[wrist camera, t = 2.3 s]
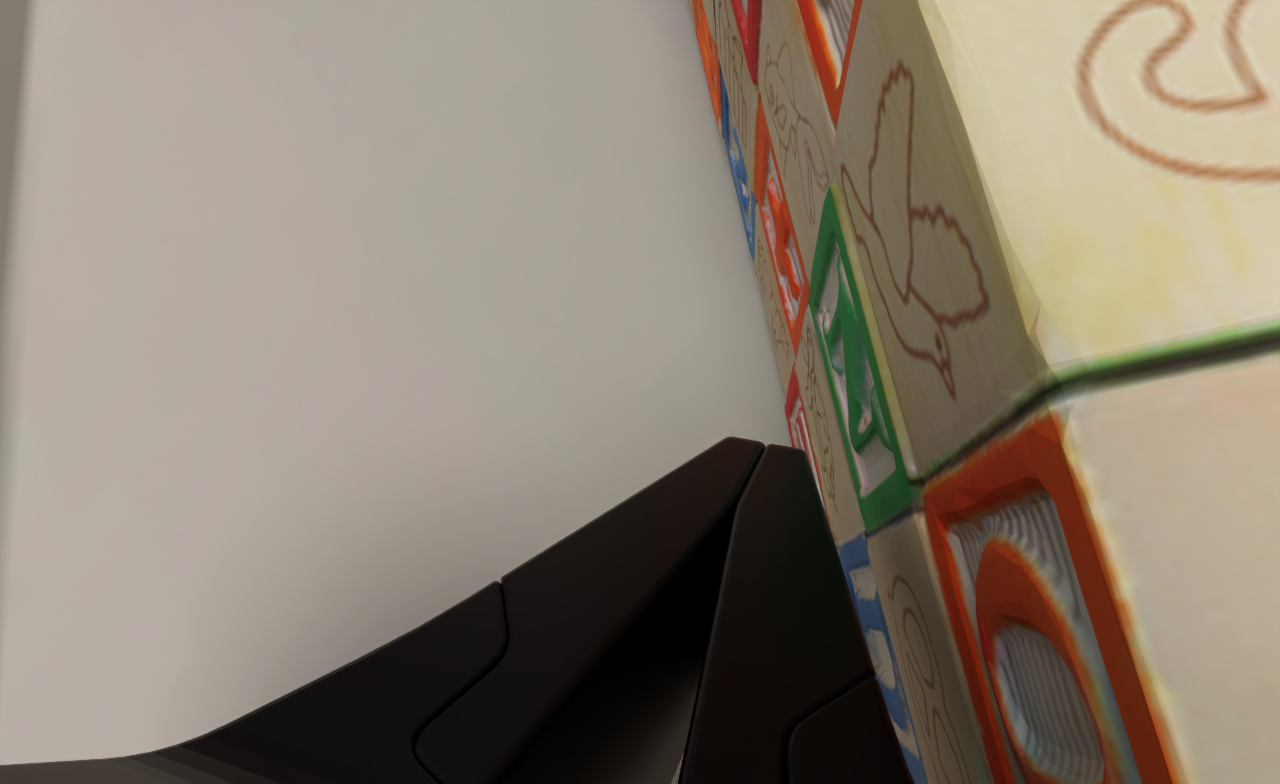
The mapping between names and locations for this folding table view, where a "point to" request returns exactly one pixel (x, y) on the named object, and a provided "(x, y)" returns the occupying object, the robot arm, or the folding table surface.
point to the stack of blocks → (1031, 361)
